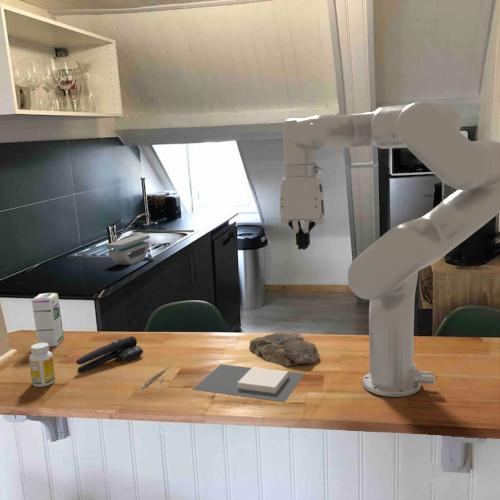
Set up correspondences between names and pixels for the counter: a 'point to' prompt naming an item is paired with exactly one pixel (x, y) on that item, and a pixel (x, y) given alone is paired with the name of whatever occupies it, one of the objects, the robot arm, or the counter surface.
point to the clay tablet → (285, 349)
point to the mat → (229, 376)
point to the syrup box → (48, 319)
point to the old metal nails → (154, 379)
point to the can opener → (111, 353)
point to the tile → (263, 380)
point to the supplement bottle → (41, 365)
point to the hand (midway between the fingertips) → (303, 248)
